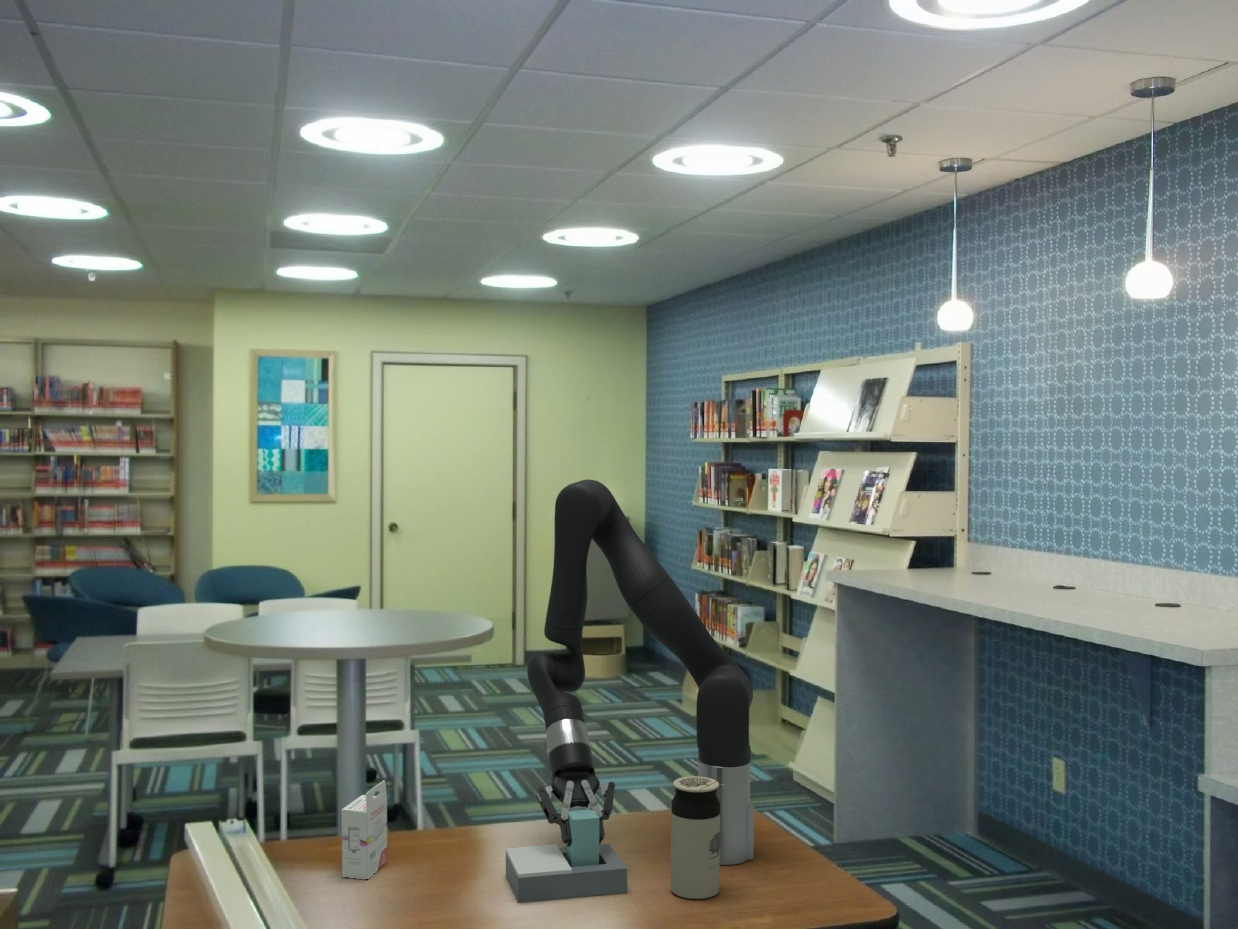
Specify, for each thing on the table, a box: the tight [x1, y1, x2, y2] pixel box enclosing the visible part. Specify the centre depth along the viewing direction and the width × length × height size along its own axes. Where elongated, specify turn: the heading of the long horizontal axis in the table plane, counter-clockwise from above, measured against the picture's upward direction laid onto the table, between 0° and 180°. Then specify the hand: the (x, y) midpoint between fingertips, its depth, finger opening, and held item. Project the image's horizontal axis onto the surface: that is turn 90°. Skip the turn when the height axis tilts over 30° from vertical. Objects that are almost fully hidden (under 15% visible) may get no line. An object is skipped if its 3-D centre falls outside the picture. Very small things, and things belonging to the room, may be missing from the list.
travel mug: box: [670, 775, 720, 900], centre depth 197 cm, size 8×8×18 cm
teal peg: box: [566, 809, 599, 867], centre depth 201 cm, size 4×4×10 cm
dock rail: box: [505, 843, 628, 904], centre depth 200 cm, size 18×12×5 cm, turn 105°
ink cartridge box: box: [341, 779, 388, 880], centre depth 205 cm, size 9×5×15 cm, turn 168°
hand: (584, 842), depth 200 cm, fingers closed on teal peg, 4 cm apart
